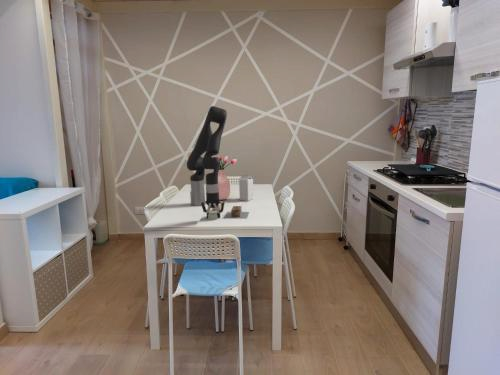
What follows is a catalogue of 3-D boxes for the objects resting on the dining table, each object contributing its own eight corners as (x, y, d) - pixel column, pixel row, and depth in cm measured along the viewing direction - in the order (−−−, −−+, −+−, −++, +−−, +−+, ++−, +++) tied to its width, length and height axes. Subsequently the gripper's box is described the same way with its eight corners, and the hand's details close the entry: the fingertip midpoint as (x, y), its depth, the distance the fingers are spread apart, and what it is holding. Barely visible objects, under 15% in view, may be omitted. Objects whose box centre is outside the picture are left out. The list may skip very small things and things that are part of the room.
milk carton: (248, 201, 258) (247, 175, 254) (239, 200, 262) (239, 174, 258) (253, 199, 264) (252, 173, 260) (245, 198, 268) (244, 172, 264)
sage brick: (208, 222, 212) (208, 214, 211) (210, 218, 220) (210, 211, 219) (217, 222, 212) (216, 214, 211) (218, 218, 219) (218, 210, 218)
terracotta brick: (212, 215, 226) (212, 208, 225) (216, 211, 234) (215, 205, 233) (220, 215, 225) (219, 208, 224) (223, 212, 233) (223, 205, 232)
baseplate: (223, 220, 214) (223, 218, 214) (227, 214, 228) (227, 211, 227) (246, 221, 213) (246, 218, 212) (249, 214, 226) (249, 211, 226)
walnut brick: (231, 216, 216) (231, 209, 215) (233, 213, 224) (233, 206, 223) (239, 216, 216) (239, 209, 215) (241, 213, 223) (241, 206, 222)
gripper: (198, 192, 209) (200, 220, 213) (223, 192, 208) (224, 221, 211) (201, 189, 216) (203, 217, 220) (225, 189, 215) (226, 217, 218)
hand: (213, 218), depth 215 cm, fingers closed on sage brick, 5 cm apart
